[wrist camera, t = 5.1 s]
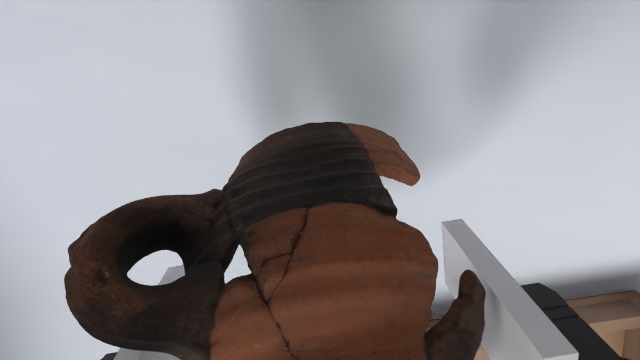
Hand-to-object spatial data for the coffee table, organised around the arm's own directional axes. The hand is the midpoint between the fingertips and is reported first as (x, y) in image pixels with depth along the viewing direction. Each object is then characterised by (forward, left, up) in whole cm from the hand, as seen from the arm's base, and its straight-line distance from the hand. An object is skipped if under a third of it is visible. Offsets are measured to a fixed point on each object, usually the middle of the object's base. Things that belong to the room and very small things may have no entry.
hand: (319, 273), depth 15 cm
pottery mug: (-1, +1, -1) cm, 2 cm away
